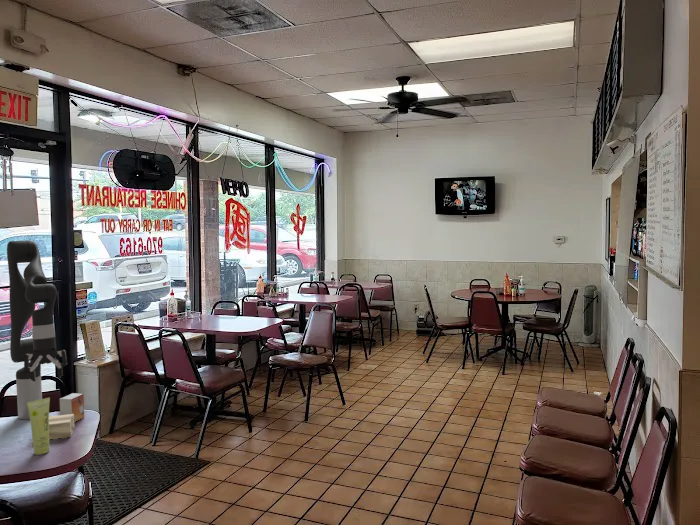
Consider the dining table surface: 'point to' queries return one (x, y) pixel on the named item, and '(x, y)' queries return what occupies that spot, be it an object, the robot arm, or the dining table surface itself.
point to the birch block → (61, 426)
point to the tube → (40, 424)
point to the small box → (73, 405)
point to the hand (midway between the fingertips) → (47, 379)
